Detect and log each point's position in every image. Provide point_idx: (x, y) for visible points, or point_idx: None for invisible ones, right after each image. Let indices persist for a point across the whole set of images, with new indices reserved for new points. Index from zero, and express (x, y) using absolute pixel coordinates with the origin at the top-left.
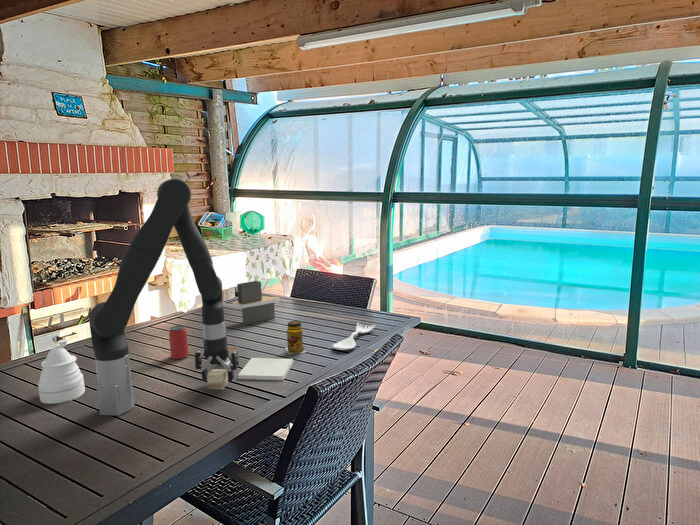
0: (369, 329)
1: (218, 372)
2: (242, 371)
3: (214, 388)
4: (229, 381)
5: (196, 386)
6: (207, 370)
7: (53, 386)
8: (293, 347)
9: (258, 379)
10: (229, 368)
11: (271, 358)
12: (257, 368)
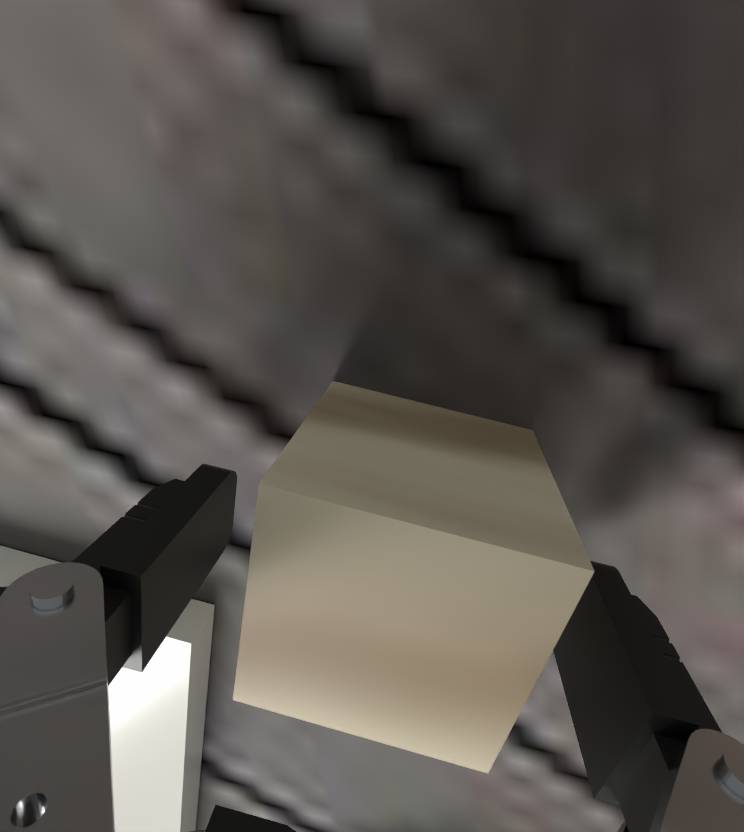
0: None
1: (357, 634)
2: (169, 704)
3: (442, 413)
4: (219, 468)
5: (696, 535)
6: (586, 757)
7: None
8: None
9: (6, 548)
10: (27, 625)
11: None
12: None
